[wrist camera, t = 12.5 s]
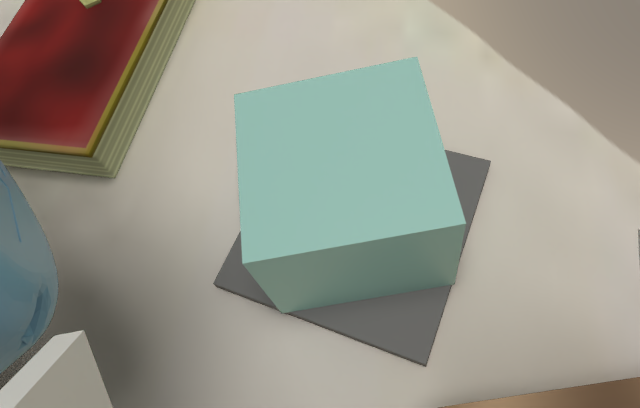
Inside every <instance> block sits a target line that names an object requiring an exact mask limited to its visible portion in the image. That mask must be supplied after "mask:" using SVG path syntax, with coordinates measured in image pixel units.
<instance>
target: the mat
mask: <svg viewBox="0 0 640 408" xmlns="http://www.w3.org/2000/svg"><path fill="white" fill-rule="evenodd" d="M445 153H446V157H447V160H448V164H449V167H450V170H451V174H452V177H453V181H454V184H455V187H456V191H457V194H458V198H459V201H460V204H461V208H462V211H463V215H464V218H465V221H466V227H465V232H464V237H463V242H462V248H461V253H460V257H461V254H462V251H463V248H464V245H465V242H466V238H467V235H468V232H469V229H470V226H471V223H472V220H473V216H474V213H475V210H476V207H477V204H478V201H479V198H480V194H481V191H482V188H483V185H484V182H485V179H486V176H487V172H488V169H489V166H490V162H491V161H489V160H485V159H481V158H476V157H472V156H468V155H464V154H460V153H456V152H452V151H447V150H445ZM459 260H460V258H459ZM213 284H214V285H215V286H216V287H219V288H221V289H224V290H227V291H229V292H232V293H235V294H237V295H240V296H242V297H245V298H248V299H250V300H253V301H255V302H258V303H261V304H263V305H266V306H269V307H271V308H274V309H276V310H279V309H278V308H277V307H276V306H275V304H274V303H273V302H272V301H271V299H270V298H269V297H268V296H267V294H266V293H265V292H264V290H263V289H262V288H261V287H260V285H259V284H258V283H257V282H256V280H255V279H254V278H253V277H252V275H251V274H250V273H249V271H248V270H247V269H246V268H245V266H244V265H243V264H242V246H241V231H240V233H239V235H238V237H237V239H236V241H235V243H234V244H233V246H232V248H231V250H230V252H229V254H228V256H227V258H226V260H225V262H224V264H223V266H222V268H221V270H220V272H219V273H218V275H217V277H216V279H215V281H214V283H213ZM450 289H451V285H447V286H441V287H435V288H429V289H423V290H417V291H411V292H405V293H399V294H393V295H388V296H382V297H376V298H370V299H364V300H358V301H352V302H346V303H340V304H334V305H329V306H323V307H317V308H311V309H305V310H299V311H293V312H287V314H290V315H292V316H295V317H297V318H300V319H303V320H305V321H308V322H310V323H313V324H316V325H318V326H321V327H324V328H326V329H329V330H331V331H334V332H337V333H339V334H342V335H344V336H347V337H350V338H352V339H355V340H358V341H360V342H363V343H365V344H368V345H371V346H373V347H376V348H378V349H381V350H384V351H386V352H389V353H392V354H394V355H397V356H399V357H402V358H405V359H407V360H410V361H413V362H415V363H418V364H420V365H423V366H426V364H427V361H428V358H429V354H430V351H431V348H432V345H433V342H434V339H435V336H436V333H437V329H438V326H439V323H440V320H441V317H442V314H443V311H444V307H445V304H446V301H447V298H448V295H449V292H450Z"/></svg>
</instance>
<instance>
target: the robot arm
mask: <svg viewBox="0 0 640 408" xmlns="http://www.w3.org/2000/svg"><path fill="white" fill-rule="evenodd" d="M638 240H639V263H640V229H638ZM57 298H58V275H57V270H56V265H55V261H54V258H53V254H52V251H51V249H50V246H49V244H48V241H47V239H46V236H45V234H44V232H43V230H42V228H41V226H40V224H39V222H38V220H37V218H36V216H35V214H34V212H33V211H32V209H31V207H30V205H29V204H28V202H27V200H26V199H25V197H24V195H23V194H22V192H21V190H20V189H19V187H18V185H17V184H16V182H15V181H14V179H13V178H12V176H11V174H10V173H9V171H8V170H7V168H6V167H5V165H4V164H3V163H2V161H1V160H0V374H1V373H2V372H3V371H4V370H5V369H6V368H8V367H9V366H10V365H11V364H12V363H13V362H15V361H16V360H17V359H18V358H19V357H20V356H22V355H23V354H24V353H25V352H26V351H27V350H29V349H30V348H31V347H32V346H33V345H34V344H35V343H36V342H37V341H38V339H39V338H40V337H41V336H42V335H43V333H44V332H45V330H46V329H47V327H48V326H49V324H50V322H51V319H52V317H53V314H54V311H55V307H56V304H57ZM0 408H113V407H112V404H111V401H110V399H109V396H108V393H107V391H106V388H105V385H104V383H103V380H102V377H101V374H100V372H99V369H98V366H97V364H96V361H95V358H94V356H93V353H92V350H91V348H90V345H89V342H88V340H87V337H86V334H85V331H84V330H82V331H76V332H71V333H65V334H60V335H54V336H53V337H52V338H51V339H50V340H49V341H48V342H47V343H46V344H45V345H44V346H43V347H42V348H41V349H40V350H39V352H38V353H37V354H36V355H35V356H34V357H33V358H32V359H31V360H30V361H29V362H28V363H27V364H26V365H25V366H24V367H23V368H22V369H21V370H20V371H19V372H18V373H17V374H16V375H15V376H14V377H13V378H12V379H11V380H10V381H9V382H8V383H7V384H6V385H5V386H4V387H3V388H2V389H1V390H0Z"/></svg>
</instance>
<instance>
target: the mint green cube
mask: <svg viewBox="0 0 640 408" xmlns="http://www.w3.org/2000/svg"><path fill="white" fill-rule="evenodd" d="M234 102H235V123H236V143H237V164H238V184H239V205H240V225H241V246H242V264H243V265H244V266H245V268H246V269H247V270H248V271H249V273H250V274H251V275H252V277H253V278H254V279H255V280H256V282H257V283H258V284H259V285H260V287H261V288H262V289H263V290H264V292H265V293H266V294H267V296H268V297H269V298H270V299H271V301H272V302H273V303H274V304H275V306H276V307H277V308H278V309H279V311H280V312H281V313H287V312H293V311H299V310H305V309H311V308H317V307H323V306H329V305H334V304H340V303H346V302H352V301H358V300H364V299H370V298H376V297H382V296H388V295H393V294H399V293H405V292H411V291H417V290H423V289H429V288H435V287H441V286H447V285H453V284H455V279H456V273H457V268H458V263H459V258H460V253H461V248H462V242H463V237H464V232H465V227H466V221H465V218H464V215H463V211H462V208H461V204H460V201H459V198H458V194H457V191H456V187H455V184H454V181H453V177H452V174H451V170H450V167H449V164H448V160H447V157H446V153H445V150H444V147H443V143H442V140H441V136H440V133H439V130H438V126H437V123H436V119H435V116H434V113H433V109H432V106H431V102H430V99H429V95H428V92H427V89H426V85H425V82H424V78H423V75H422V72H421V68H420V65H419V61H418V58H417V57H413V58H408V59H403V60H399V61H394V62H389V63H384V64H379V65H374V66H370V67H365V68H360V69H355V70H350V71H346V72H341V73H336V74H331V75H326V76H321V77H317V78H312V79H307V80H302V81H297V82H293V83H288V84H283V85H278V86H273V87H268V88H264V89H259V90H254V91H249V92H244V93H240V94H235V95H234Z"/></svg>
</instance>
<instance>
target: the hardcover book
mask: <svg viewBox="0 0 640 408" xmlns="http://www.w3.org/2000/svg"><path fill="white" fill-rule="evenodd" d="M194 2H195V0H25V2H24V3H23V5H22V6H21V8H20V9H19V11H18V12H17V14H16V15H15V17H14V18H13V20H12V21H11V23H10V24H9V26H8V27H7V29H6V30H5V32H4V33H3V35H2V36H1V38H0V160H1V161H2V163H3V164H4V165H5V166H12V167H21V168H29V169H38V170H47V171H55V172H64V173H73V174H82V175H90V176H99V177H108V178H116V175H117V173H118V171H119V169H120V167H121V164H122V162H123V160H124V158H125V155H126V153H127V151H128V149H129V147H130V144H131V142H132V140H133V138H134V135H135V133H136V131H137V129H138V127H139V124H140V122H141V120H142V118H143V116H144V113H145V111H146V109H147V107H148V104H149V102H150V100H151V98H152V96H153V93H154V91H155V89H156V87H157V84H158V82H159V80H160V78H161V76H162V73H163V71H164V69H165V67H166V64H167V62H168V60H169V58H170V56H171V53H172V51H173V49H174V47H175V45H176V42H177V40H178V38H179V36H180V33H181V31H182V29H183V27H184V25H185V22H186V20H187V18H188V16H189V13H190V11H191V9H192V7H193V5H194Z"/></svg>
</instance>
